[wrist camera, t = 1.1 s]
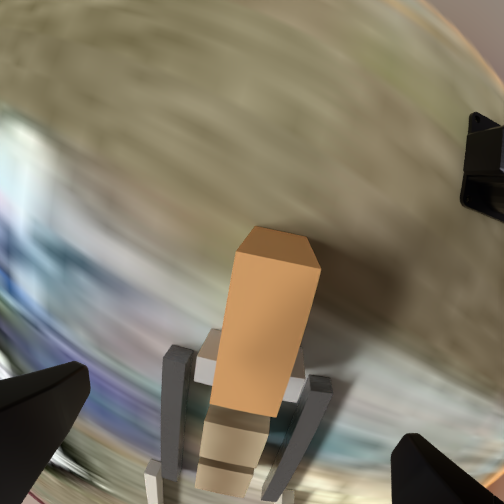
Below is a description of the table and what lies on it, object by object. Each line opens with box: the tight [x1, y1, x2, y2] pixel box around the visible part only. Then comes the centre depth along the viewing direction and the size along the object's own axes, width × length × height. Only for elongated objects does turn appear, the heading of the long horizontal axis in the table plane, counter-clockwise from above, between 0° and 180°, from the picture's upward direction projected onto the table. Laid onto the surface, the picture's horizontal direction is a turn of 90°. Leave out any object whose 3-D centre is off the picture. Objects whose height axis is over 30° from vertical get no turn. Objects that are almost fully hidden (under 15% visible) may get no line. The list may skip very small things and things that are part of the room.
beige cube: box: [199, 404, 270, 468], centre depth 18 cm, size 4×4×4 cm
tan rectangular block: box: [194, 226, 321, 417], centre depth 15 cm, size 6×9×7 cm
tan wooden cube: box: [195, 456, 254, 498], centre depth 19 cm, size 4×4×4 cm
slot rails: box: [161, 345, 333, 502], centre depth 20 cm, size 11×15×2 cm
